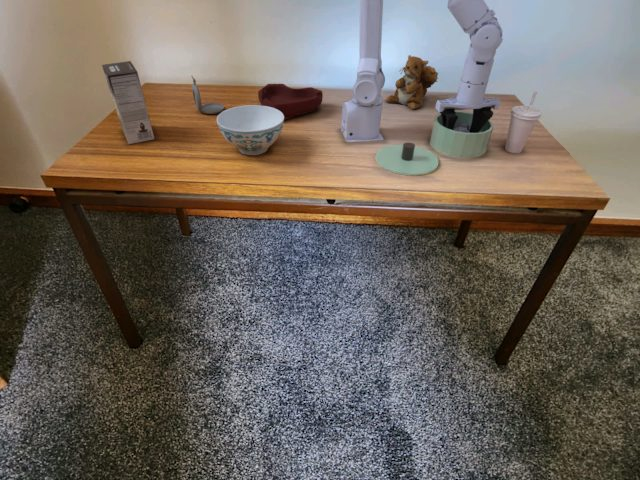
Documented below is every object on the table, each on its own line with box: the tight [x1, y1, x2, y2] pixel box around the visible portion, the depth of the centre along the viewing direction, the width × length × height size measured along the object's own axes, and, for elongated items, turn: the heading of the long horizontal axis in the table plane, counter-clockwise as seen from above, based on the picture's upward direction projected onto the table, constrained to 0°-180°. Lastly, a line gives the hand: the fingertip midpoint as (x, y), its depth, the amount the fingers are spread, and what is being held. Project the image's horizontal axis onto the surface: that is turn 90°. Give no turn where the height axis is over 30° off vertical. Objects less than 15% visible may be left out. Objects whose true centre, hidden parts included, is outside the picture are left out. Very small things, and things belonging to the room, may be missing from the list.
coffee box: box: [101, 60, 156, 145], centre depth 94 cm, size 9×6×16 cm
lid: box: [375, 142, 440, 177], centre depth 89 cm, size 14×14×4 cm
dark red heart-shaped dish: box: [257, 83, 323, 121], centre depth 110 cm, size 18×16×5 cm
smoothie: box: [504, 91, 542, 154], centre depth 92 cm, size 6×6×14 cm
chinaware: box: [216, 104, 285, 156], centre depth 91 cm, size 15×15×8 cm
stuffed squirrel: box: [385, 54, 439, 111], centre depth 116 cm, size 10×14×13 cm
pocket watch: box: [191, 75, 225, 115], centre depth 108 cm, size 8×8×10 cm
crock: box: [429, 110, 494, 159], centre depth 95 cm, size 13×13×6 cm
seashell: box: [453, 123, 470, 133], centre depth 95 cm, size 5×5×10 cm
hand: (459, 138), depth 95 cm, fingers closed on seashell, 6 cm apart
